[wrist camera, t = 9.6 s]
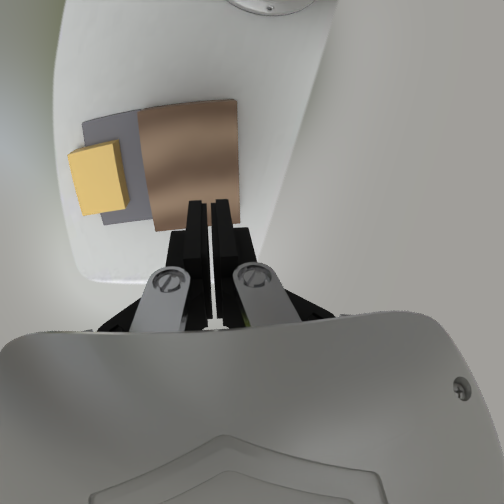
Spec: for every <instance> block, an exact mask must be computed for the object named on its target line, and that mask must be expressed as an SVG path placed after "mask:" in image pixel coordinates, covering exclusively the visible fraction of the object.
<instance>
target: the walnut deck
mask: <svg viewBox="0 0 504 504" xmlns="http://www.w3.org/2000/svg"><path fill="white" fill-rule="evenodd" d="M137 117H138V126H139V135H140V143H141V151H142V158H143V165H144V171H145V178H146V184H147V190H148V195H149V201H150V206H151V211H152V216H153V221H154V226H155V231H156V232H157V231H166V230H175V229H185V228H186V222H187V213H188V204H189V201H192V200H202V203H207V221H208V226H212V224H211V203H216V199H228V200H229V206H230V212H231V218H232V224H237V223H240V203H239V166H238V123H237V101H236V100H234V99H227V100H211V101H198V102H188V103H179V104H171V105H164V106H157V107H151V108H145V109H143V110H140V111H138V112H137Z"/></svg>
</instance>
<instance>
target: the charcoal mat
mask: <svg viewBox="0 0 504 504" xmlns="http://www.w3.org/2000/svg"><path fill="white" fill-rule="evenodd" d="M140 110H141V109H139V110H134V111H129V112H124V113H119V114H115V115H110V116H106V117H102V118H98V119H94V120H90V121H86V122H83V123H82V128H83V135H84V141H85V147H87V146H91V145H95V144H100V143H104V142H108V141H113V140H118V139H119V145H120V151H121V157H122V163H123V169H124V174H125V179H126V184H127V189H128V194H129V199H130V201H129V203H128V205H127V207H126V209H122V210H116V211H109V212H103V213H100V214H101V217H102V221H103V224H104V225H110V224H117V223H124V222H132V221H140V220H148V219H153V216H152V211H151V206H150V201H149V195H148V190H147V184H146V178H145V171H144V165H143V158H142V151H141V143H140V135H139V126H138V117H137V112H138V111H140Z"/></svg>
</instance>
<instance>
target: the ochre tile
mask: <svg viewBox="0 0 504 504" xmlns="http://www.w3.org/2000/svg"><path fill="white" fill-rule="evenodd" d="M67 156H68V160H69V165H70V170H71V174H72V178H73V182H74V186H75V190H76V194H77V197H78V201H79V204H80V208H81V211H82V215H83V216H86V215H91V214H97V213H103V212H109V211H116V210H122V209H126V207H127V205H128V203H129V201H130V199H129V194H128V189H127V184H126V179H125V174H124V169H123V163H122V157H121V151H120V145H119V139H118V140H113V141H108V142H104V143H100V144H95V145H91V146H87V147H84V148H80V149H76V150H74V151H73V152H71V153H70V154H68V155H67Z"/></svg>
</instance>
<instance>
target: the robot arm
mask: <svg viewBox="0 0 504 504" xmlns="http://www.w3.org/2000/svg"><path fill="white" fill-rule="evenodd" d="M227 1H229V2H230V3H231V4H233V5H235V6H237V7H239V8H240V9H243V10H246V11H249V12H252V13H256V14H260V15H270V16H274V15H286V14H292V13H294V12H297V11H300V10H302V9H304V8H306V7H307V6H309V5H310V4H311V3H313V2H314V1H315V0H227ZM267 8H270V9H271V11H268V10H267ZM211 224H212V247H213V265H214V282H215V296H216V309H217V318H223V326H227V327H228V328H230V329H217V330H202V329H204V328H205V327H208V321H207V319H212V318H213V315H212V301H211V280H210V258H209V241H208V221H207V203H202V200H192V201H189V204H188V213H187V222H186V230H182V231H172V232H171V236H170V242H169V248H168V254H167V260H166V267H164V268H161V269H159V270H157V271H155V272H154V273H153V274H152V275H151V276H150V278H149V279H148V282H147V284H146V287H145V289H144V292H143V295H142V297H141V298H140V299H138V300H137V301H135V302H134V303H133V304H131V305H130V306H128V307H127V308H125V309H124V310H123V311H121V312H120V313H118V314H117V315H115V316H114V317H113V318H111V319H110V320H109V321H107V322H106V323H104V324H103V325H102V326H101V327H100V328H99V329H98V330H97V332H93V330H92V329H91V330H86V331H77V332H76V331H47V332H36V333H31V334H27V335H24V336H21V337H18V338H16V339H14V340H12V341H10V342H9V343H7V344H6V345H5V346H4V347H3V349H2V350H1V352H0V504H504V456H503V452H502V449H501V446H500V442H499V439H498V435H497V432H496V429H495V426H494V423H493V420H492V418H491V415H490V412H489V410H488V407H487V405H486V403H485V400H484V398H483V396H482V393H481V391H480V389H479V387H478V385H477V382H476V380H475V378H474V376H473V374H472V372H471V370H470V368H469V366H468V365H467V363H466V361H465V359H464V357H463V356H462V354H461V352H460V351H459V349H458V347H457V346H456V344H455V343H454V341H453V340H452V338H451V337H450V336H449V334H448V333H447V332H446V331H445V329H444V328H443V327H442V326H441V325H440V324H439V323H438V322H437V321H436V320H434V319H433V318H431V317H429V316H426V315H424V314H420V313H415V312H409V311H380V312H372V313H364V314H356V315H345V314H340V316H339V317H335V316H334V315H333V314H332V313H330V312H329V311H327V310H325V309H323V308H321V307H319V306H317V305H315V304H313V303H311V302H309V301H307V300H305V299H303V298H301V297H299V296H298V295H296V294H293V293H292V292H290V291H288V290H286V289H284V288H283V286H282V284H281V282H280V280H279V279H278V277H277V275H276V273H275V272H274V270H273V269H272V268H271V267H269V266H268V265H265V264H263V263H258V262H257V260H256V256H255V252H254V248H253V244H252V240H251V236H250V233H249V229H248V227H243V228H233V224H232V218H231V212H230V206H229V200H228V199H216V203H211Z"/></svg>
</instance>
